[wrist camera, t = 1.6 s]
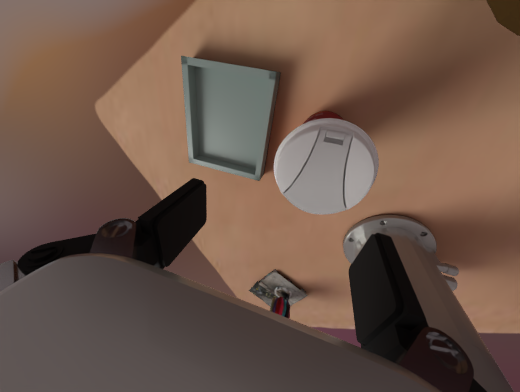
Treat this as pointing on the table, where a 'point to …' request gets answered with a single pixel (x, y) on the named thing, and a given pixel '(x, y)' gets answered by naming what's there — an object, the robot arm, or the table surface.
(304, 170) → the paper cup
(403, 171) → the table surface
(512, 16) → the mushroom
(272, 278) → the statue
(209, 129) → the tray
